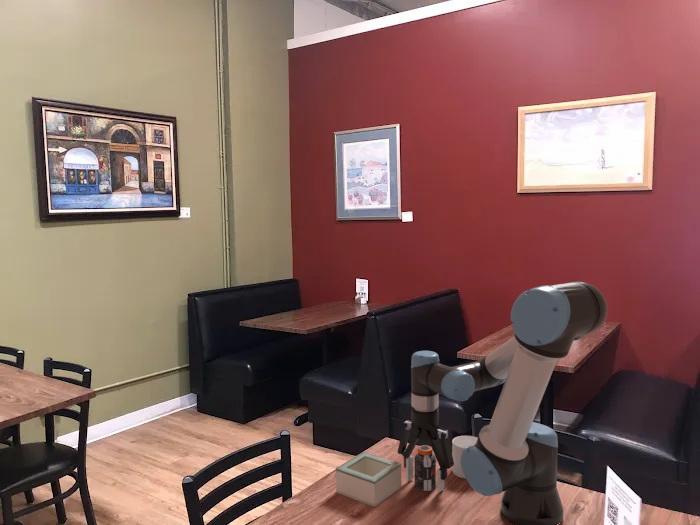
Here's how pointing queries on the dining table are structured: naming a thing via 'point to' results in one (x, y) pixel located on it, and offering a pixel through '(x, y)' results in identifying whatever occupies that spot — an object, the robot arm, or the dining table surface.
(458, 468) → the mug
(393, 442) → the dining table surface
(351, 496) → the box
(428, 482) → the pill bottle
